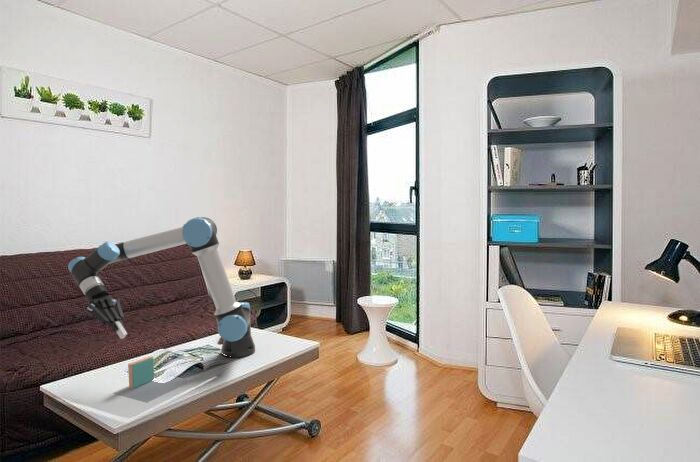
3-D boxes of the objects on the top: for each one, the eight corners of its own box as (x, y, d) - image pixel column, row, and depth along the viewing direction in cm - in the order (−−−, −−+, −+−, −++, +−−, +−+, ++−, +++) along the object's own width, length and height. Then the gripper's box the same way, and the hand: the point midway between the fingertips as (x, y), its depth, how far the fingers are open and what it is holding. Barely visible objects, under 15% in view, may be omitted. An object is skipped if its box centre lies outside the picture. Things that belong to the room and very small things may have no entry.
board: (112, 395, 153) (112, 393, 153) (159, 375, 171) (159, 373, 171) (147, 405, 145) (146, 402, 145) (192, 383, 163) (192, 380, 163)
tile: (129, 387, 157) (128, 363, 157) (150, 378, 165) (149, 356, 165) (133, 388, 156) (132, 364, 156) (154, 379, 164) (153, 356, 164)
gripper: (106, 293, 177) (135, 337, 171) (74, 299, 166) (103, 347, 159) (113, 281, 175) (143, 325, 168) (81, 287, 163) (112, 335, 157)
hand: (124, 336), depth 164 cm, fingers closed
